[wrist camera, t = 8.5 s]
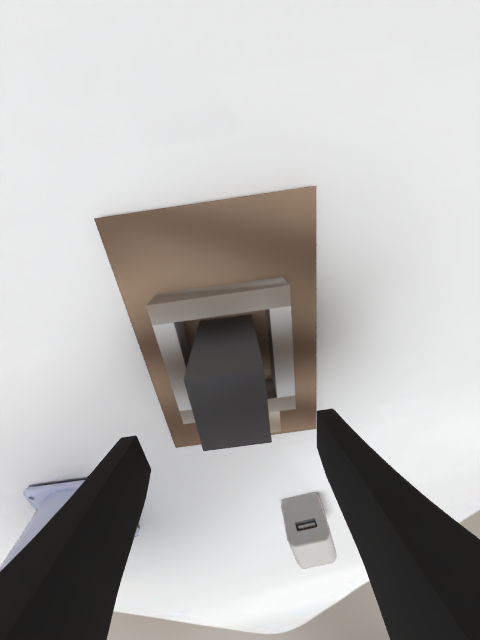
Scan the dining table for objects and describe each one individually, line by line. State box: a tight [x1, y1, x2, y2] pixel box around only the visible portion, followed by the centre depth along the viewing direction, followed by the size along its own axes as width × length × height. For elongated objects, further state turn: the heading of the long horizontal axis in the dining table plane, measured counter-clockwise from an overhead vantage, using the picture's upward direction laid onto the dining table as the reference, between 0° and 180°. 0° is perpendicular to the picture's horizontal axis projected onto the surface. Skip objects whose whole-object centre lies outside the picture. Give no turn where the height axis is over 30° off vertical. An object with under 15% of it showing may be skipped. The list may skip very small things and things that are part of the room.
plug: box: [184, 314, 272, 451], centre depth 13 cm, size 4×3×6 cm
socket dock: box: [94, 186, 316, 448], centre depth 15 cm, size 18×12×3 cm, turn 8°
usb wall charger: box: [281, 492, 336, 569], centre depth 24 cm, size 4×7×4 cm, turn 17°
